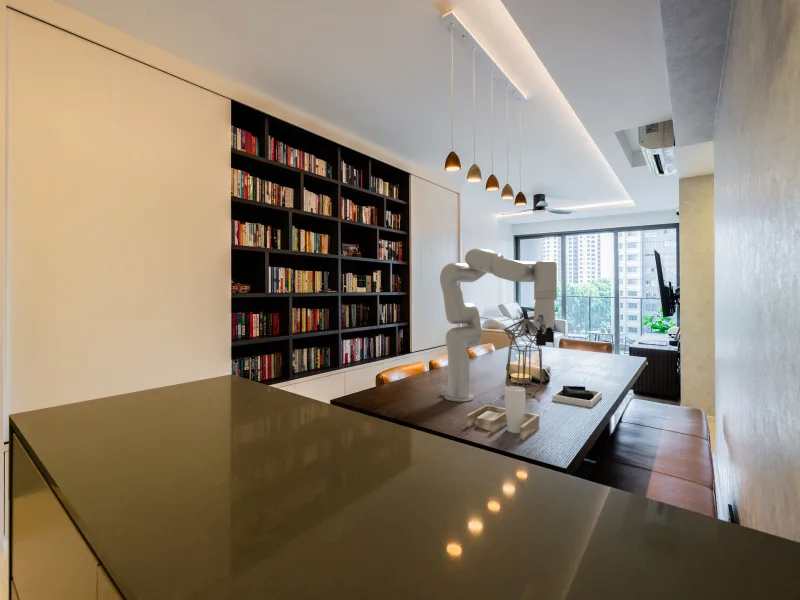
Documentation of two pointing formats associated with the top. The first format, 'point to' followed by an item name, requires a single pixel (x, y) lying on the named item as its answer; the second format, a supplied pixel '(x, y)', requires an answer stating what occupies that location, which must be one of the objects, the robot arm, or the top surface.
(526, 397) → the geometric lantern
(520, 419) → the white vase
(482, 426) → the board
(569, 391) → the battery charger
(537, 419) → the rack
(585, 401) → the charger tray
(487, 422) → the offcut top
